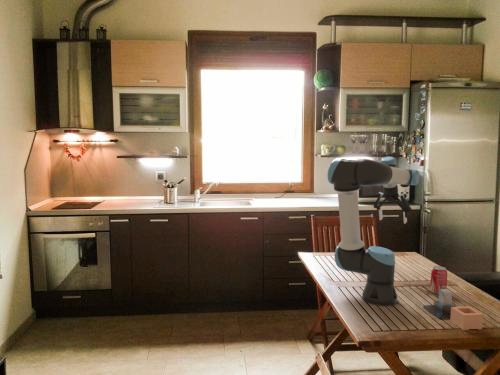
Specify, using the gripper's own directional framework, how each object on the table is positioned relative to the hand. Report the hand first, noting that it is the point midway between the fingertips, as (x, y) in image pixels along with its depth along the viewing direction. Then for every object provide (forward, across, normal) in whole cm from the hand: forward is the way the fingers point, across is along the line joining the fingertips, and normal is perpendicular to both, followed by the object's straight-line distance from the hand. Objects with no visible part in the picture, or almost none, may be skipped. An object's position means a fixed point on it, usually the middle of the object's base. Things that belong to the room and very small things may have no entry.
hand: (393, 221), depth 241 cm
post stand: (+12, -40, +51) cm, 66 cm away
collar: (+9, -51, +59) cm, 78 cm away
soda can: (+20, -31, +29) cm, 47 cm away
